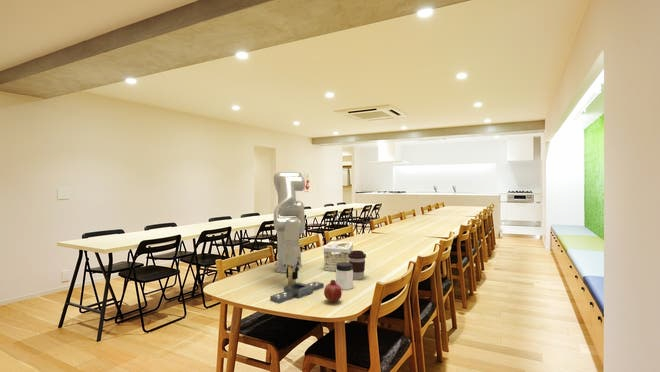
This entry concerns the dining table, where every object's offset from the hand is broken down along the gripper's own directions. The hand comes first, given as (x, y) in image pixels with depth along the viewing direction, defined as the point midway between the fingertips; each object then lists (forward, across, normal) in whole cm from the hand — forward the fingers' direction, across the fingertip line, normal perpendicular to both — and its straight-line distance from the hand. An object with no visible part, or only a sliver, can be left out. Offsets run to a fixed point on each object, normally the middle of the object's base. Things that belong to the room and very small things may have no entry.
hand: (292, 277), depth 177 cm
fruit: (+5, +31, -4) cm, 32 cm away
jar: (+5, +22, +16) cm, 28 cm away
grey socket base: (+4, +11, -6) cm, 13 cm away
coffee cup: (+4, +17, +34) cm, 38 cm away
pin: (+4, 0, 0) cm, 4 cm away
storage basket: (+5, -6, +47) cm, 47 cm away
